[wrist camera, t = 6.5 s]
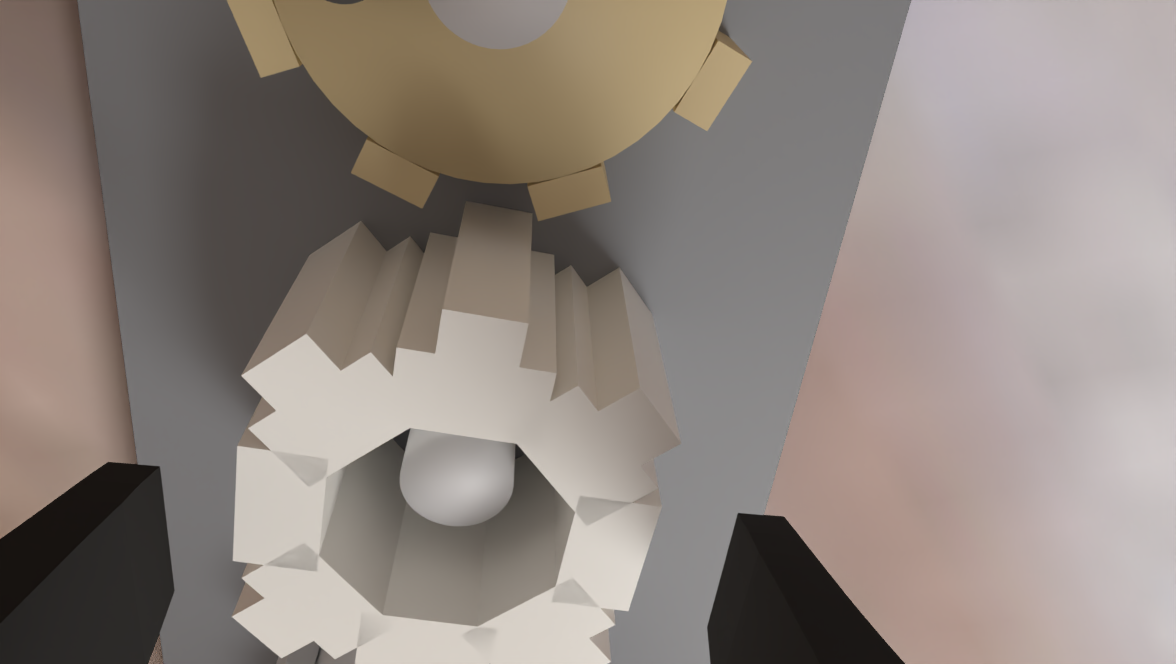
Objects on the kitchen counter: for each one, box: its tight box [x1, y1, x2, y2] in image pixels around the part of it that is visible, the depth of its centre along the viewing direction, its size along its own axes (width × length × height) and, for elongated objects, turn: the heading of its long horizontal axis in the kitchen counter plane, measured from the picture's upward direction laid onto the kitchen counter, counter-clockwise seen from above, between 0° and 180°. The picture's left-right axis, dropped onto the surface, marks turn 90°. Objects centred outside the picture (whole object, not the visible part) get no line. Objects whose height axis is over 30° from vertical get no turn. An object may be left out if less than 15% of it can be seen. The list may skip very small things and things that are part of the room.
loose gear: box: [232, 201, 681, 664], centre depth 13 cm, size 5×7×4 cm
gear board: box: [77, 0, 911, 664], centre depth 14 cm, size 11×22×4 cm, turn 172°
